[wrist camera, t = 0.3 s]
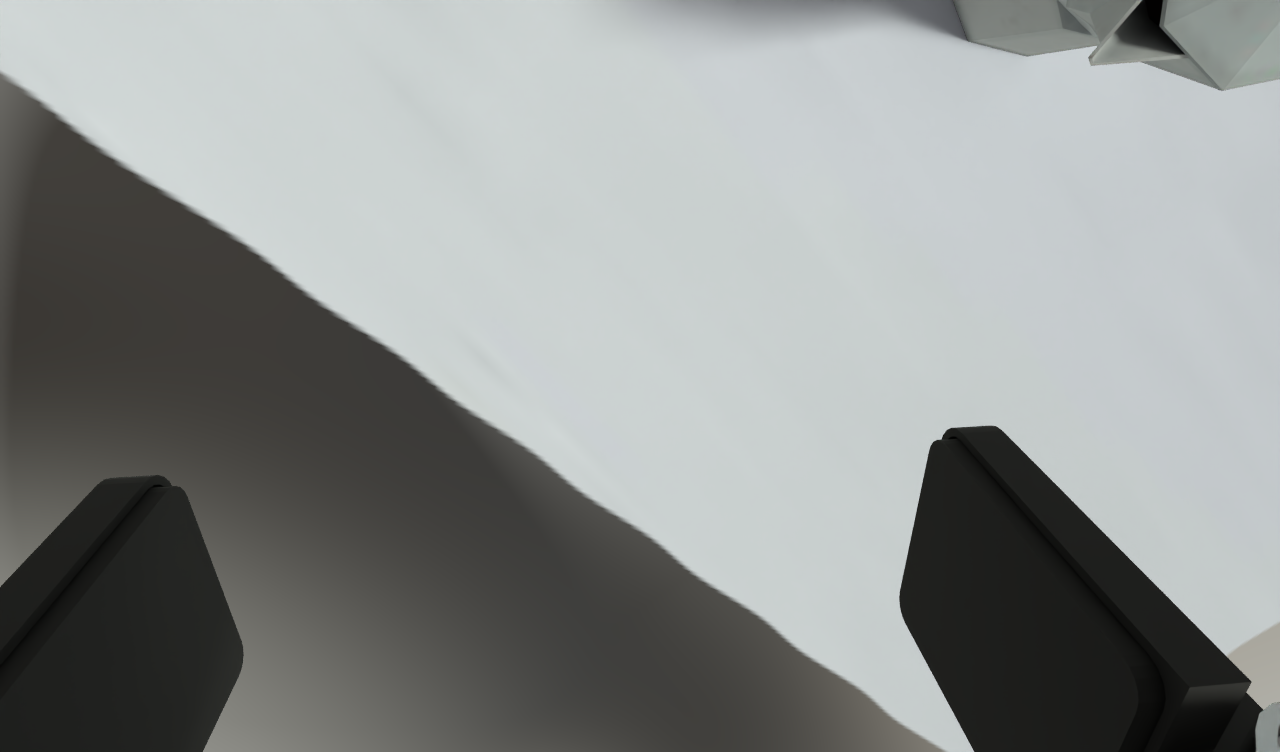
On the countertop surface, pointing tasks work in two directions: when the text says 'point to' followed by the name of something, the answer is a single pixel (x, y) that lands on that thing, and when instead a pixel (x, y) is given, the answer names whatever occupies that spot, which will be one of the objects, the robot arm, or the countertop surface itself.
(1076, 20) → the coffee maker
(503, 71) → the countertop surface
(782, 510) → the countertop surface
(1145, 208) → the countertop surface
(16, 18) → the countertop surface
